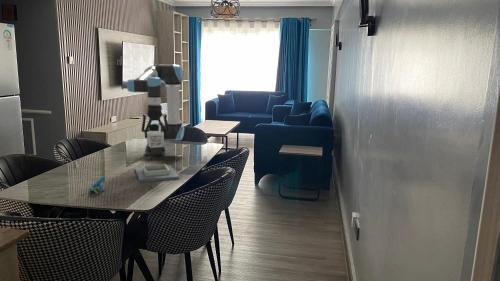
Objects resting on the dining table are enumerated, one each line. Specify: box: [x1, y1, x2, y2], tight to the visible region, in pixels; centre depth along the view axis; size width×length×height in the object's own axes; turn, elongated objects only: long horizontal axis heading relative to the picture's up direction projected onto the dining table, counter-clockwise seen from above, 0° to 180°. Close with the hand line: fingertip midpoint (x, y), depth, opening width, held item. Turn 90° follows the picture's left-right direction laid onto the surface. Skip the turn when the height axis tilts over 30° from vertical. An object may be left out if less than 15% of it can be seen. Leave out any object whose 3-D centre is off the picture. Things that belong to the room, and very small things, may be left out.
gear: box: [88, 176, 106, 194], centre depth 195 cm, size 11×6×10 cm
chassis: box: [134, 163, 180, 183], centre depth 228 cm, size 26×22×4 cm
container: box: [146, 124, 163, 148], centre depth 223 cm, size 8×8×13 cm
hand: (155, 142), depth 224 cm, fingers closed on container, 8 cm apart
